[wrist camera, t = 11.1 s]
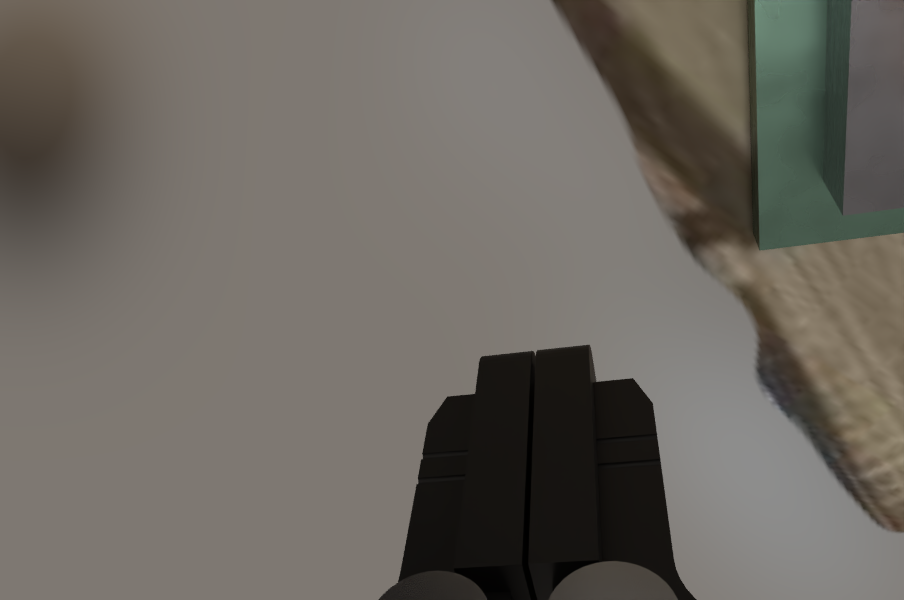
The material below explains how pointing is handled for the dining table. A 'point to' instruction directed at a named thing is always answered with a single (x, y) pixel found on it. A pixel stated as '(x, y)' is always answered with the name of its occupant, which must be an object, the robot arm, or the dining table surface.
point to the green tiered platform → (826, 120)
